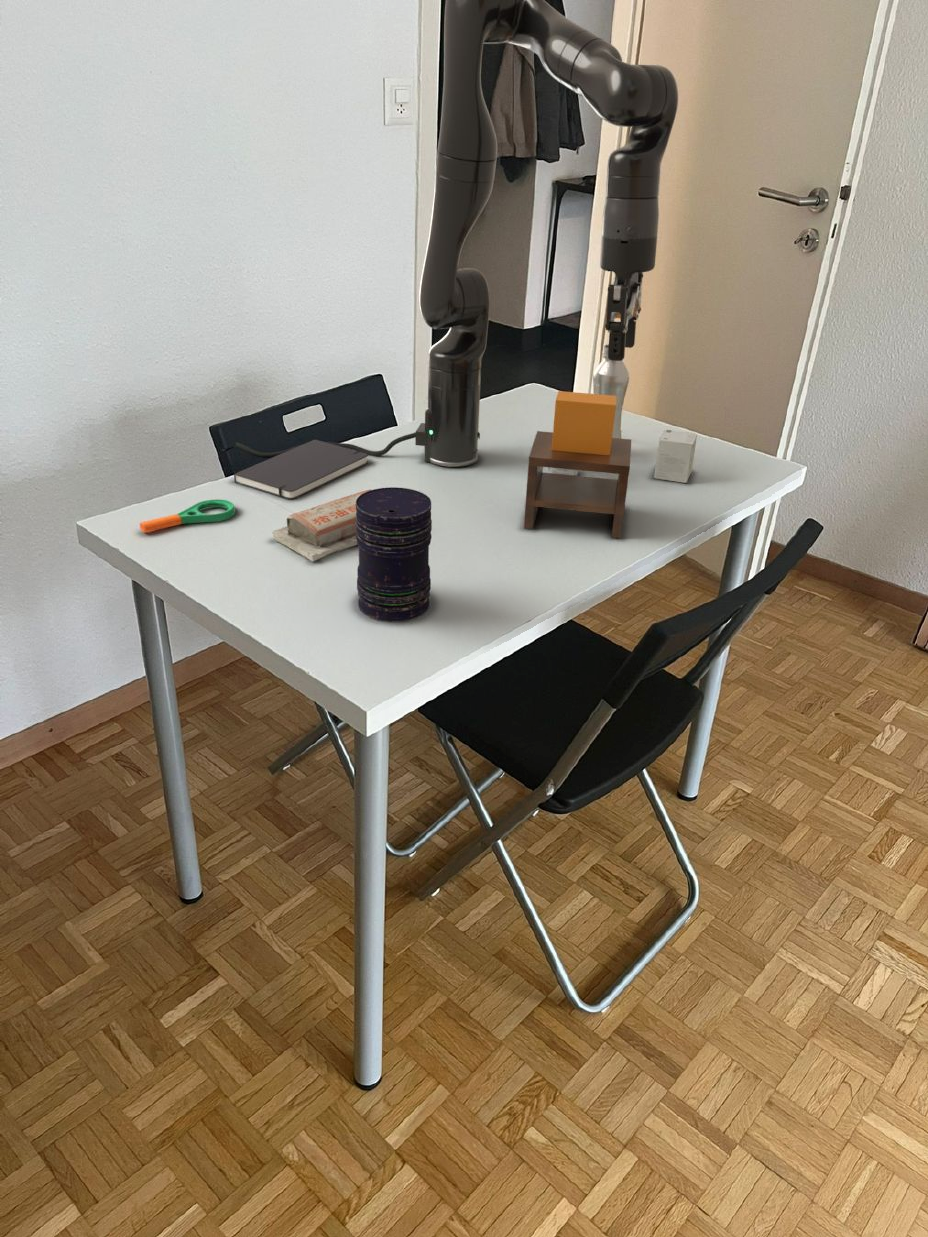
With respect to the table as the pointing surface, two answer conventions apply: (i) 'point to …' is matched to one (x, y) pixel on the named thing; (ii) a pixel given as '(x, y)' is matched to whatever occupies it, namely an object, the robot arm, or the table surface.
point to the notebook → (301, 469)
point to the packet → (583, 423)
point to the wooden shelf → (577, 481)
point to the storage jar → (393, 553)
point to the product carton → (675, 456)
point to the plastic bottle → (612, 385)
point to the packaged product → (321, 528)
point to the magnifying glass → (191, 515)
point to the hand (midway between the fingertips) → (621, 353)
